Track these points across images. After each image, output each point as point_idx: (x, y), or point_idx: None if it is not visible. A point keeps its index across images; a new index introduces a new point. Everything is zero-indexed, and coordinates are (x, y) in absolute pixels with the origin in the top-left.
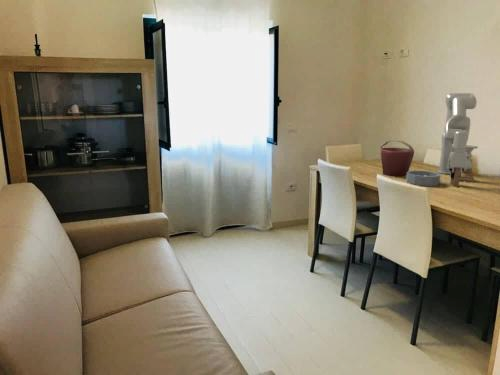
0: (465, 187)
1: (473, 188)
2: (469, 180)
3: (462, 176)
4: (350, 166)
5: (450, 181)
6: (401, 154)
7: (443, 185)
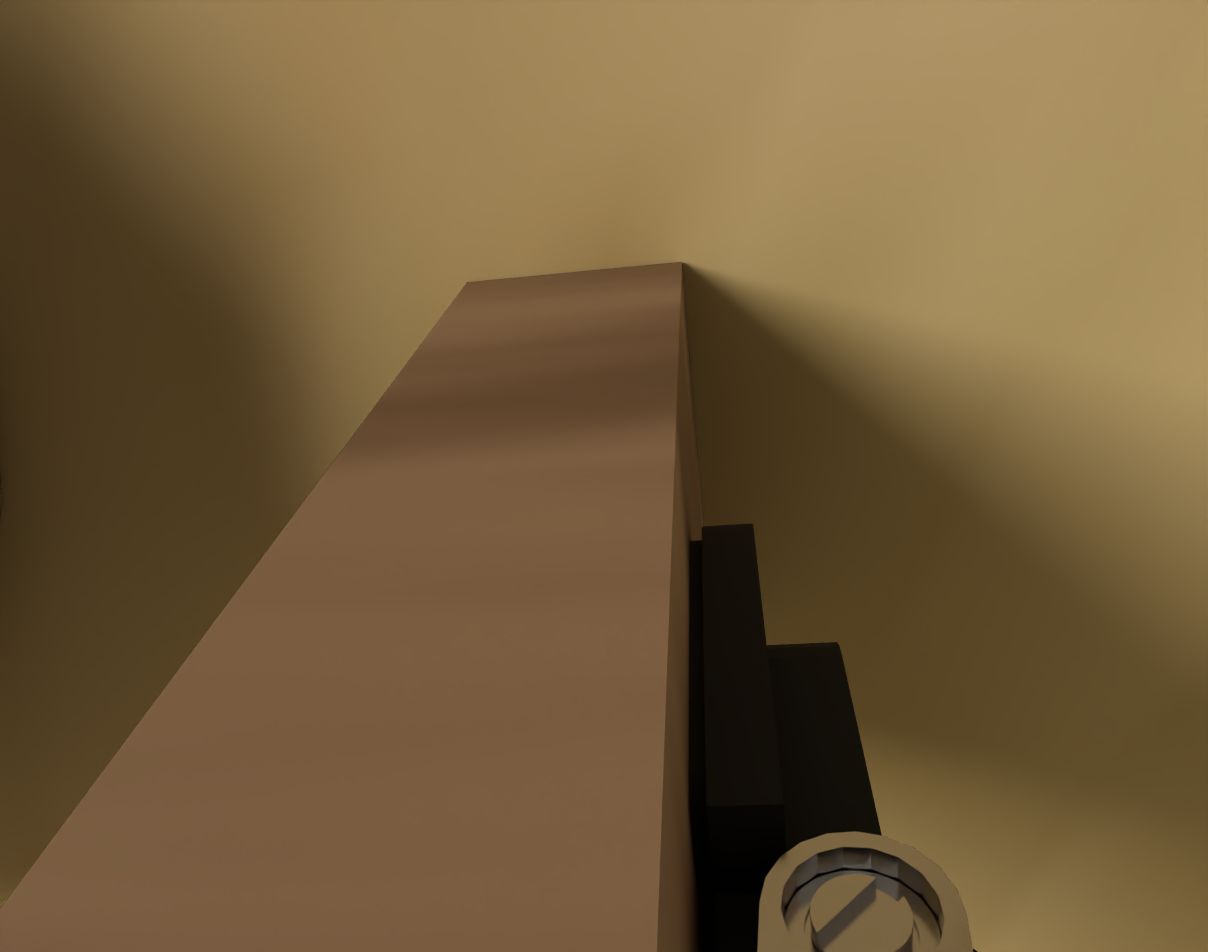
0: (908, 747)
1: (1136, 836)
2: None
3: None
4: None
5: (441, 331)
6: None
7: (175, 587)
